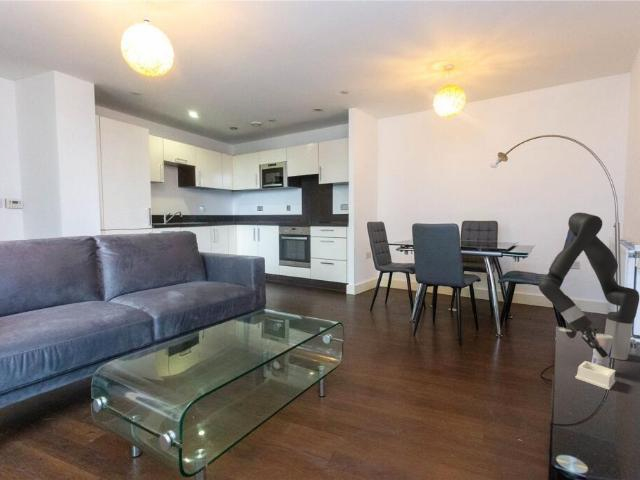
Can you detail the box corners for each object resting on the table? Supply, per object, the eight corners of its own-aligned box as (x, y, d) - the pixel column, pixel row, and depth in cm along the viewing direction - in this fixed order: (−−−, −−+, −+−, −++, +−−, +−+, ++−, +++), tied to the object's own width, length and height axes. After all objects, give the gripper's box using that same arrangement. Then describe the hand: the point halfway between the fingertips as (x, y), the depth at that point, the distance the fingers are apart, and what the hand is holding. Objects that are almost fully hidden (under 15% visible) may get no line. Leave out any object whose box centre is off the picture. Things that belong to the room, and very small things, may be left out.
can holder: (582, 371, 140) (584, 360, 139) (615, 382, 132) (616, 370, 131) (575, 378, 133) (576, 366, 133) (609, 389, 125) (610, 377, 125)
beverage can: (611, 373, 138) (616, 338, 136) (595, 371, 139) (600, 336, 137) (602, 367, 143) (607, 333, 142) (587, 365, 144) (592, 331, 143)
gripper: (579, 316, 140) (612, 355, 132) (589, 311, 149) (620, 347, 141) (562, 325, 145) (593, 362, 137) (573, 319, 154) (602, 354, 146)
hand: (607, 354), depth 139 cm, fingers closed on beverage can, 5 cm apart
